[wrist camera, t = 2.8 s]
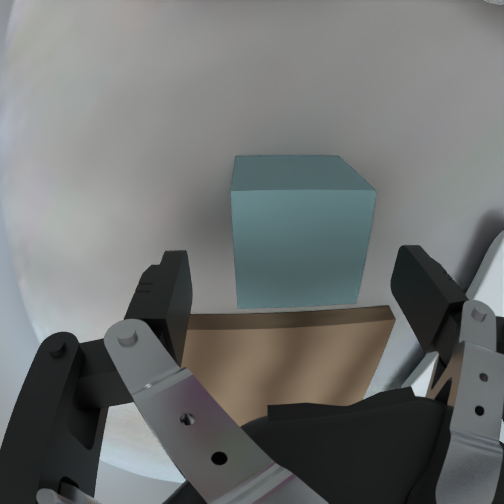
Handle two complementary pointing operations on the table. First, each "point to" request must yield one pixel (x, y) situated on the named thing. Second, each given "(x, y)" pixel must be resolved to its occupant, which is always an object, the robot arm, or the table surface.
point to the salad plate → (482, 289)
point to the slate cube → (299, 230)
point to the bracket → (496, 2)
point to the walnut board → (286, 357)
